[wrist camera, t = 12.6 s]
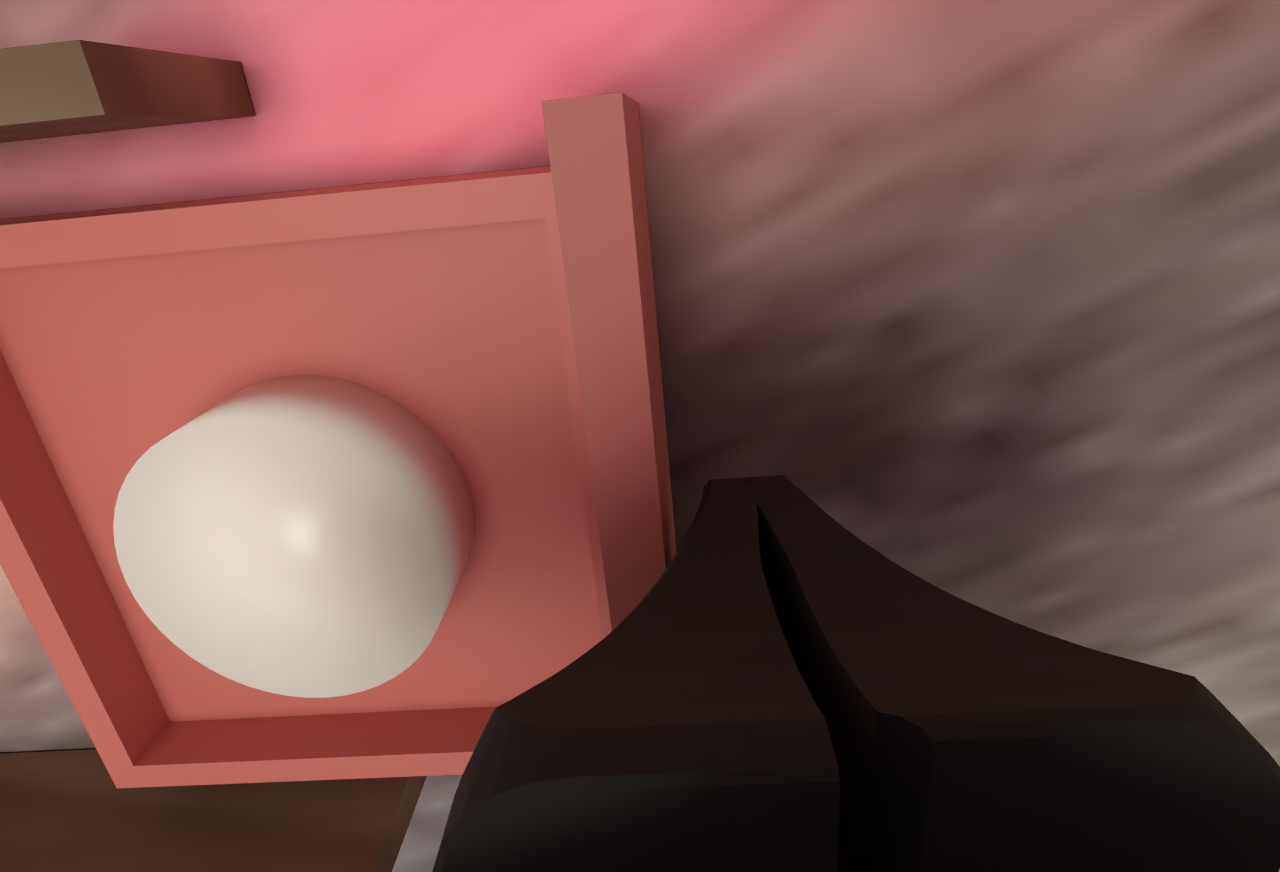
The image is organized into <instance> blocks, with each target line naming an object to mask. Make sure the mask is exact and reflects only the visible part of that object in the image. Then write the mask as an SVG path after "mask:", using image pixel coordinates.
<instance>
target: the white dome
mask: <svg viewBox="0 0 1280 872" xmlns="http://www.w3.org/2000/svg"><path fill="white" fill-rule="evenodd" d="M113 531H114V544H115V549H116V553H117V558H118V562H119V565H120V568H121V571H122V573H123V576H124V578H125V581H126V583H127V585H128V587H129V589H130V591H131V592H132V594H133V596H134V598H135V600H136V601H137V602H138V604H139V605H140V607H141V608H142V610H143V611H144V613H145V614H146V615H147V617H148V618H149V619H150V620H151V621H152V622H153V623H154V625H155V626H156V627H157V628H158V629H159V630H160V631H161V632H162V633H163V634H164V635H165V636H166V637H167V638H168V639H169V640H170V641H171V642H172V643H173V644H174V645H176V646H177V647H178V648H180V649H181V650H182V651H183V652H185V653H186V654H187V655H189V656H190V657H191V658H193V659H194V660H196V661H198V662H199V663H201V664H202V665H204V666H205V667H207V668H209V669H210V670H212V671H214V672H216V673H218V674H220V675H222V676H224V677H226V678H228V679H231V680H233V681H236V682H238V683H241V684H243V685H246V686H249V687H252V688H255V689H259V690H262V691H266V692H270V693H275V694H280V695H285V696H294V697H304V698H327V697H336V696H345V695H349V694H354V693H358V692H362V691H365V690H368V689H371V688H373V687H376V686H379V685H381V684H383V683H385V682H387V681H389V680H391V679H393V678H394V677H396V676H397V675H399V674H400V673H402V672H403V671H404V670H406V669H407V668H408V667H409V666H411V665H412V664H413V663H414V662H415V661H416V660H417V659H418V658H419V657H420V656H421V654H422V653H423V652H424V650H425V649H426V648H427V646H428V645H429V644H430V642H431V640H432V638H433V636H434V634H435V632H436V630H437V628H438V626H439V624H440V622H441V620H442V617H443V615H444V613H445V611H446V609H447V606H448V604H449V602H450V600H451V597H452V595H453V593H454V591H455V589H456V586H457V584H458V582H459V580H460V578H461V575H462V573H463V571H464V569H465V566H466V564H467V562H468V559H469V556H470V553H471V549H472V544H473V538H474V511H473V504H472V499H471V495H470V492H469V489H468V485H467V482H466V480H465V478H464V476H463V473H462V471H461V469H460V467H459V465H458V464H457V462H456V460H455V459H454V457H453V455H452V454H451V452H450V451H449V449H448V448H447V447H446V445H445V444H444V443H443V442H442V440H441V439H440V438H439V437H438V435H437V434H436V433H435V432H434V431H433V430H432V429H431V428H430V427H429V426H428V425H427V424H426V423H425V422H424V421H422V420H421V419H420V418H419V417H417V416H416V415H415V414H414V413H412V412H411V411H410V410H408V409H407V408H406V407H404V406H402V405H401V404H399V403H398V402H396V401H394V400H393V399H391V398H390V397H388V396H385V395H383V394H381V393H379V392H377V391H375V390H373V389H371V388H368V387H365V386H362V385H359V384H357V383H354V382H351V381H346V380H342V379H337V378H333V377H325V376H316V375H290V376H284V377H278V378H271V379H268V380H265V381H261V382H258V383H255V384H252V385H250V386H248V387H246V388H244V389H242V390H240V391H238V392H236V393H234V394H233V395H231V396H230V397H228V398H227V399H225V400H223V401H222V402H220V403H219V404H217V405H215V406H214V407H212V408H211V409H209V410H208V411H206V412H204V413H203V414H201V415H200V416H198V417H196V418H195V419H193V420H192V421H190V422H189V423H187V424H185V425H184V426H182V427H181V428H179V429H177V430H176V431H174V432H173V433H171V434H170V435H168V436H166V437H165V438H163V439H162V440H161V441H159V442H158V443H156V444H155V445H153V446H152V447H151V448H150V449H148V450H147V451H146V452H145V453H144V454H143V455H142V456H141V457H140V458H139V459H138V460H137V462H136V463H135V464H134V466H133V467H132V469H131V470H130V471H129V473H128V474H127V476H126V478H125V480H124V482H123V484H122V487H121V489H120V491H119V494H118V498H117V502H116V506H115V511H114V523H113Z"/></svg>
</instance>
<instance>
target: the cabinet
mask: <svg viewBox="0 0 1280 872" xmlns="http://www.w3.org/2000/svg"><path fill="white" fill-rule="evenodd" d="M250 116H255V114H254V111H253V107H252V103H251V100H250V96H249V93H248V89H247V85H246V82H245V78H244V74H243V71H242V67H241V64H240V62H237V61H229V60H222V59H215V58H207V57H200V56H193V55H185V54H178V53H171V52H163V51H156V50H149V49H141V48H134V47H127V46H119V45H112V44H105V43H97V42H90V41H83V40H74V41H66V42H57V43H48V44H39V45H31V46H22V47H13V48H4V49H0V143H2V142H12V141H21V140H31V139H40V138H50V137H59V136H69V135H79V134H88V133H98V132H107V131H117V130H126V129H136V128H145V127H155V126H164V125H174V124H183V123H193V122H203V121H212V120H222V119H231V118H241V117H250ZM425 779H426V776H410V777H386V778H361V779H336V780H312V781H287V782H262V783H238V784H213V785H188V786H164V787H139V788H116V786H115V784H114V782H113V780H112V778H111V776H110V774H109V772H108V770H107V769H106V767H105V765H104V763H103V761H102V759H101V757H100V755H99V753H98V751H97V749H90V750H68V751H45V752H23V753H0V872H392V869H393V867H394V864H395V861H396V858H397V856H398V853H399V850H400V847H401V845H402V842H403V839H404V836H405V834H406V831H407V828H408V826H409V823H410V820H411V817H412V815H413V812H414V809H415V806H416V804H417V801H418V798H419V795H420V793H421V790H422V787H423V785H424V782H425Z"/></svg>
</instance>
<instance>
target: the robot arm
mask: <svg viewBox="0 0 1280 872" xmlns="http://www.w3.org/2000/svg"><path fill="white" fill-rule="evenodd" d="M1279 868H1280V767H1279V766H1278V764H1277V763H1276V762H1275V760H1274V759H1273V758H1272V756H1271V755H1270V754H1269V753H1268V752H1267V751H1266V750H1265V749H1264V747H1263V746H1262V745H1261V744H1260V743H1259V742H1258V741H1257V740H1256V739H1255V738H1254V737H1253V736H1252V735H1251V734H1250V733H1249V732H1248V731H1247V730H1246V728H1245V727H1244V726H1243V725H1242V724H1241V723H1240V722H1239V721H1238V720H1237V719H1236V718H1235V717H1234V716H1233V715H1232V714H1231V713H1230V712H1229V711H1228V710H1227V709H1226V708H1225V707H1224V705H1223V704H1222V703H1221V702H1220V701H1219V700H1218V699H1217V698H1216V697H1215V696H1214V695H1213V694H1212V693H1211V692H1210V691H1209V690H1208V689H1207V688H1206V687H1205V686H1204V685H1203V684H1201V683H1200V682H1199V681H1198V680H1197V679H1196V678H1195V677H1194V676H1190V675H1186V674H1182V673H1178V672H1175V671H1171V670H1167V669H1163V668H1160V667H1156V666H1152V665H1148V664H1145V663H1141V662H1137V661H1133V660H1129V659H1126V658H1122V657H1118V656H1114V655H1111V654H1107V653H1103V652H1099V651H1096V650H1093V649H1089V648H1086V647H1083V646H1080V645H1077V644H1074V643H1071V642H1068V641H1065V640H1062V639H1060V638H1057V637H1054V636H1051V635H1048V634H1045V633H1042V632H1039V631H1036V630H1033V629H1031V628H1028V627H1026V626H1023V625H1020V624H1018V623H1015V622H1013V621H1010V620H1007V619H1005V618H1002V617H1000V616H998V615H996V614H993V613H991V612H989V611H986V610H984V609H982V608H980V607H977V606H975V605H973V604H971V603H968V602H966V601H964V600H962V599H960V598H957V597H955V596H953V595H951V594H949V593H947V592H945V591H943V590H941V589H939V588H937V587H936V586H934V585H932V584H930V583H928V582H927V581H925V580H923V579H921V578H919V577H918V576H916V575H914V574H912V573H910V572H909V571H907V570H905V569H903V568H902V567H900V566H899V565H897V564H895V563H894V562H892V561H890V560H889V559H887V558H886V557H884V556H883V555H882V554H880V553H879V552H877V551H876V550H874V549H873V548H871V547H870V546H868V545H867V544H866V543H864V542H863V541H861V540H860V539H858V538H857V537H856V536H854V535H853V534H852V533H850V532H849V531H848V530H846V529H845V528H844V527H843V526H841V525H840V524H839V523H838V522H836V521H835V520H834V519H833V518H831V517H830V516H829V515H828V514H827V513H825V512H824V511H823V510H822V509H821V508H820V507H819V506H817V505H816V504H815V503H814V502H813V501H812V500H811V499H810V498H808V497H807V496H806V495H805V494H804V493H803V492H802V491H801V490H800V489H799V488H797V487H796V486H795V485H794V484H793V483H792V482H791V481H790V480H789V479H787V478H786V477H785V476H784V475H781V476H765V477H749V478H733V479H716V480H710V481H709V482H708V483H707V484H706V485H705V486H704V493H703V497H702V501H701V504H700V507H699V509H698V511H697V514H696V516H695V519H694V521H693V523H692V525H691V527H690V529H689V531H688V533H687V535H686V537H685V539H684V541H683V542H682V544H681V546H680V548H679V549H678V551H677V552H676V554H675V555H674V557H673V559H672V560H671V562H670V563H669V565H668V566H667V568H666V570H665V571H664V572H663V574H662V575H661V577H660V578H659V579H658V581H657V582H656V583H655V585H654V586H653V587H652V588H651V590H650V591H649V592H648V593H647V595H646V596H645V597H644V598H643V599H642V600H641V602H640V603H639V604H638V605H637V606H636V607H635V608H634V609H633V610H632V611H631V613H630V614H629V615H628V616H627V617H626V618H625V619H624V620H623V621H622V622H621V623H620V624H619V625H618V626H617V627H616V628H615V629H614V630H613V631H612V632H610V633H609V634H608V635H607V636H606V637H605V638H604V639H602V640H601V641H600V642H599V643H597V644H596V645H595V646H594V647H592V648H591V649H590V650H589V651H587V652H586V653H585V654H583V655H582V656H580V657H579V658H578V659H576V660H575V661H573V662H572V663H571V664H569V665H568V666H566V667H565V668H563V669H562V670H560V671H559V672H557V673H556V674H554V675H553V676H551V677H549V678H548V679H546V680H544V681H542V682H541V683H539V684H537V685H535V686H534V687H532V688H530V689H529V690H527V691H525V692H523V693H522V694H520V695H518V696H516V697H515V698H513V699H511V700H510V701H508V702H506V703H504V704H502V705H500V706H498V707H496V708H495V710H494V711H493V713H492V715H491V717H490V719H489V721H488V723H487V725H486V727H485V729H484V731H483V733H482V735H481V737H480V739H479V741H478V743H477V745H476V747H475V749H474V751H473V754H472V756H471V758H470V760H469V762H468V764H467V766H466V768H465V770H464V773H463V775H462V778H461V780H460V783H459V785H458V788H457V791H456V793H455V796H454V800H453V803H452V807H451V810H450V814H449V817H448V821H447V824H446V828H445V831H444V834H443V838H442V841H441V845H440V848H439V851H438V855H437V858H436V862H435V865H434V868H433V872H1278V871H1279Z"/></svg>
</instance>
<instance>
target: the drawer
mask: <svg viewBox="0 0 1280 872" xmlns="http://www.w3.org/2000/svg"><path fill="white" fill-rule="evenodd" d="M542 106H543V114H544V121H545V129H546V137H547V144H548V152H549V159H550V166H545V167H535V168H525V169H514V170H504V171H494V172H484V173H473V174H463V175H453V176H442V177H432V178H422V179H412V180H401V181H391V182H381V183H370V184H360V185H350V186H340V187H329V188H319V189H309V190H298V191H288V192H278V193H268V194H257V195H247V196H237V197H226V198H216V199H206V200H196V201H185V202H175V203H165V204H154V205H144V206H134V207H124V208H113V209H103V210H93V211H82V212H72V213H62V214H52V215H41V216H31V217H21V218H10V219H0V564H1V566H2V568H3V570H4V572H5V574H6V576H7V578H8V580H9V582H10V584H11V586H12V588H13V589H14V591H15V593H16V595H17V597H18V599H19V601H20V603H21V605H22V607H23V609H24V611H25V613H26V614H27V616H28V618H29V620H30V622H31V624H32V626H33V628H34V630H35V632H36V634H37V636H38V638H39V640H40V641H41V643H42V645H43V647H44V649H45V651H46V653H47V655H48V657H49V659H50V661H51V663H52V665H53V666H54V668H55V670H56V672H57V674H58V676H59V678H60V680H61V682H62V684H63V686H64V688H65V690H66V692H67V693H68V695H69V697H70V699H71V701H72V703H73V705H74V707H75V709H76V711H77V713H78V715H79V717H80V718H81V720H82V722H83V724H84V726H85V728H86V730H87V732H88V734H89V736H90V738H91V740H92V742H93V744H94V745H95V747H96V749H97V751H98V753H99V755H100V757H101V759H102V761H103V763H104V765H105V767H106V769H107V770H108V772H109V774H110V776H111V778H112V780H113V782H114V784H115V786H116V788H139V787H164V786H188V785H213V784H238V783H262V782H287V781H312V780H336V779H361V778H386V777H410V776H435V775H460V774H463V773H464V770H465V768H466V766H467V764H468V762H469V760H470V758H471V756H472V754H473V751H474V749H475V747H476V745H477V743H478V741H479V739H480V737H481V735H482V733H483V731H484V729H485V727H486V725H487V723H488V721H489V719H490V717H491V715H492V713H493V711H494V710H495V708H496V707H498V706H500V705H502V704H504V703H506V702H508V701H510V700H511V699H513V698H515V697H516V696H518V695H520V694H522V693H523V692H525V691H527V690H529V689H530V688H532V687H534V686H535V685H537V684H539V683H541V682H542V681H544V680H546V679H548V678H549V677H551V676H553V675H554V674H556V673H557V672H559V671H560V670H562V669H563V668H565V667H566V666H568V665H569V664H571V663H572V662H573V661H575V660H576V659H578V658H579V657H580V656H582V655H583V654H585V653H586V652H587V651H589V650H590V649H591V648H592V647H594V646H595V645H596V644H597V643H599V642H600V641H601V640H602V639H604V638H605V637H606V636H607V635H608V634H609V633H610V632H612V631H613V630H614V629H615V628H616V627H617V626H618V625H619V624H620V623H621V622H622V621H623V620H624V619H625V618H626V617H627V616H628V615H629V614H630V613H631V611H632V610H633V609H634V608H635V607H636V606H637V605H638V604H639V603H640V602H641V600H642V599H643V598H644V597H645V596H646V595H647V593H648V592H649V591H650V590H651V588H652V587H653V586H654V585H655V583H656V582H657V581H658V579H659V578H660V577H661V575H662V574H663V572H664V571H665V570H666V568H667V566H668V565H669V563H670V562H671V560H672V559H673V557H674V555H675V554H676V540H675V528H674V516H673V504H672V493H671V481H670V469H669V457H668V445H667V433H666V422H665V410H664V398H663V386H662V374H661V363H660V351H659V339H658V327H657V315H656V303H655V292H654V280H653V268H652V256H651V244H650V233H649V221H648V209H647V197H646V185H645V173H644V162H643V150H642V138H641V126H640V114H639V103H638V102H636V101H634V100H633V99H631V98H630V97H628V96H626V95H625V94H623V93H614V94H604V95H594V96H585V97H575V98H565V99H556V100H546V101H542ZM290 375H316V376H325V377H333V378H337V379H342V380H346V381H351V382H354V383H357V384H359V385H362V386H365V387H368V388H371V389H373V390H375V391H377V392H379V393H381V394H383V395H385V396H388V397H390V398H391V399H393V400H394V401H396V402H398V403H399V404H401V405H402V406H404V407H406V408H407V409H408V410H410V411H411V412H412V413H414V414H415V415H416V416H417V417H419V418H420V419H421V420H422V421H424V422H425V423H426V424H427V425H428V426H429V427H430V428H431V429H432V430H433V431H434V432H435V433H436V434H437V435H438V437H439V438H440V439H441V440H442V442H443V443H444V444H445V445H446V447H447V448H448V449H449V451H450V452H451V454H452V455H453V457H454V459H455V460H456V462H457V464H458V465H459V467H460V469H461V471H462V473H463V476H464V478H465V480H466V482H467V485H468V489H469V492H470V495H471V499H472V504H473V511H474V538H473V544H472V549H471V553H470V556H469V559H468V562H467V564H466V566H465V569H464V571H463V573H462V575H461V578H460V580H459V582H458V584H457V586H456V589H455V591H454V593H453V595H452V597H451V600H450V602H449V604H448V606H447V609H446V611H445V613H444V615H443V617H442V620H441V622H440V624H439V626H438V628H437V630H436V632H435V634H434V636H433V638H432V640H431V642H430V644H429V645H428V646H427V648H426V649H425V650H424V652H423V653H422V654H421V656H420V657H419V658H418V659H417V660H416V661H415V662H414V663H413V664H412V665H411V666H409V667H408V668H407V669H406V670H404V671H403V672H402V673H400V674H399V675H397V676H396V677H394V678H393V679H391V680H389V681H387V682H385V683H383V684H381V685H379V686H376V687H373V688H371V689H368V690H365V691H362V692H358V693H354V694H349V695H345V696H336V697H327V698H304V697H294V696H285V695H280V694H275V693H270V692H266V691H262V690H259V689H255V688H252V687H249V686H246V685H243V684H241V683H238V682H236V681H233V680H231V679H228V678H226V677H224V676H222V675H220V674H218V673H216V672H214V671H212V670H210V669H209V668H207V667H205V666H204V665H202V664H201V663H199V662H198V661H196V660H194V659H193V658H191V657H190V656H189V655H187V654H186V653H185V652H183V651H182V650H181V649H180V648H178V647H177V646H176V645H174V644H173V643H172V642H171V641H170V640H169V639H168V638H167V637H166V636H165V635H164V634H163V633H162V632H161V631H160V630H159V629H158V628H157V627H156V626H155V625H154V623H153V622H152V621H151V620H150V619H149V618H148V617H147V615H146V614H145V613H144V611H143V610H142V608H141V607H140V605H139V604H138V602H137V601H136V600H135V598H134V596H133V594H132V592H131V591H130V589H129V587H128V585H127V583H126V581H125V578H124V576H123V573H122V571H121V568H120V565H119V562H118V558H117V553H116V549H115V544H114V531H113V523H114V511H115V506H116V502H117V498H118V494H119V491H120V489H121V487H122V484H123V482H124V480H125V478H126V476H127V474H128V473H129V471H130V470H131V469H132V467H133V466H134V464H135V463H136V462H137V460H138V459H139V458H140V457H141V456H142V455H143V454H144V453H145V452H146V451H147V450H148V449H150V448H151V447H152V446H153V445H155V444H156V443H158V442H159V441H161V440H162V439H163V438H165V437H166V436H168V435H170V434H171V433H173V432H174V431H176V430H177V429H179V428H181V427H182V426H184V425H185V424H187V423H189V422H190V421H192V420H193V419H195V418H196V417H198V416H200V415H201V414H203V413H204V412H206V411H208V410H209V409H211V408H212V407H214V406H215V405H217V404H219V403H220V402H222V401H223V400H225V399H227V398H228V397H230V396H231V395H233V394H234V393H236V392H238V391H240V390H242V389H244V388H246V387H248V386H250V385H252V384H255V383H258V382H261V381H265V380H268V379H271V378H278V377H284V376H290Z"/></svg>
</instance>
